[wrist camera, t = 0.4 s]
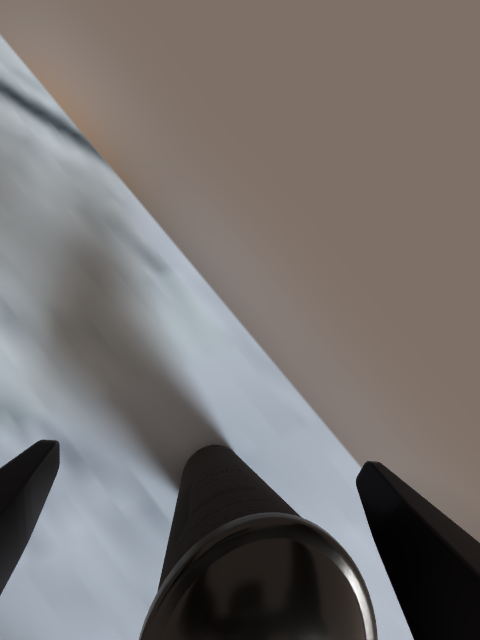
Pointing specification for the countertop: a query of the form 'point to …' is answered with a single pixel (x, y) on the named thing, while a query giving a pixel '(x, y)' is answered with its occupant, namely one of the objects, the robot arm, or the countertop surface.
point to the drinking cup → (251, 565)
